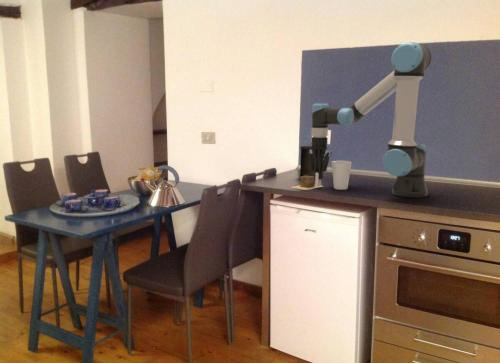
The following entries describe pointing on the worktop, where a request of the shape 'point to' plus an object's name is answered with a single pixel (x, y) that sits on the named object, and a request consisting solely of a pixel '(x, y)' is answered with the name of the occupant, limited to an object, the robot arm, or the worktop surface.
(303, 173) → the container
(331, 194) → the worktop surface
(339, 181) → the foam cup
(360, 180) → the worktop surface
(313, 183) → the block
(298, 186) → the envelope
